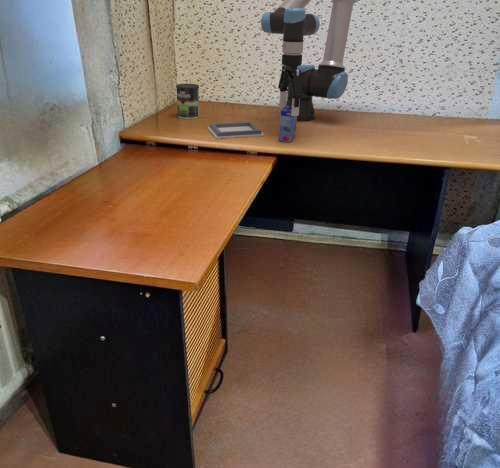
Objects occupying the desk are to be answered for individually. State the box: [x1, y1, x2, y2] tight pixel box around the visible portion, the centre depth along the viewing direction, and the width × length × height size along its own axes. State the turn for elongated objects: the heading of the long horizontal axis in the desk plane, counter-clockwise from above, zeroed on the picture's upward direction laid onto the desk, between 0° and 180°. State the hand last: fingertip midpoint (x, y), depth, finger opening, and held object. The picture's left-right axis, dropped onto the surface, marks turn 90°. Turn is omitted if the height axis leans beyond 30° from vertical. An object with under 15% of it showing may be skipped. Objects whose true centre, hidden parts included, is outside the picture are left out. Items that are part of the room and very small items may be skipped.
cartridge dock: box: [207, 121, 265, 140], centre depth 198 cm, size 20×16×2 cm
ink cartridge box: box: [278, 105, 298, 143], centre depth 188 cm, size 10×6×14 cm, turn 166°
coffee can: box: [175, 83, 200, 120], centre depth 219 cm, size 10×10×14 cm
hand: (288, 112), depth 186 cm, fingers open, 13 cm apart
